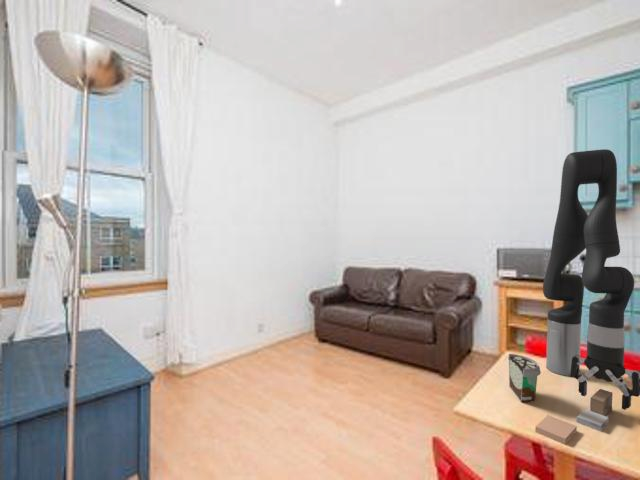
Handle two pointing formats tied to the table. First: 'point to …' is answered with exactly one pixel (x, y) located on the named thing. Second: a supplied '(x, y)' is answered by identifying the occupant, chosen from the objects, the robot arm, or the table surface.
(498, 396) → the table surface
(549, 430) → the tile
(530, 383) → the food container
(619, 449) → the table surface
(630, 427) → the table surface
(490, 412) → the table surface
